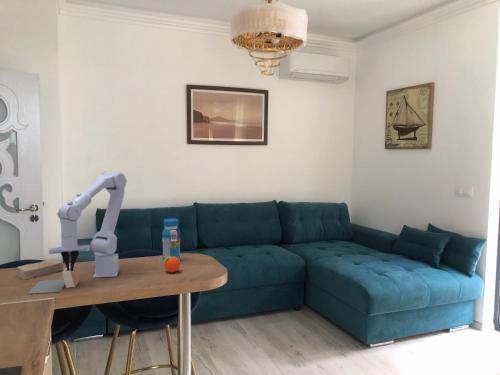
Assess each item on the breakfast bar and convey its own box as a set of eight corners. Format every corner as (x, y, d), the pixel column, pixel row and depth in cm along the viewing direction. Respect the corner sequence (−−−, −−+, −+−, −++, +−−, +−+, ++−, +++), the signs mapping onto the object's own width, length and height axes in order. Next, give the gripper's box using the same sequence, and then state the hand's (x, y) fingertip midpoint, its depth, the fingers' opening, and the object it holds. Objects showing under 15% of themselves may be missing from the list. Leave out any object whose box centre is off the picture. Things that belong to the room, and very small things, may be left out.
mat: (68, 280, 170) (68, 279, 170) (59, 292, 156) (59, 291, 156) (40, 281, 168) (39, 280, 168) (27, 294, 154) (27, 293, 154)
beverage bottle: (159, 262, 197) (159, 220, 195) (166, 258, 206) (165, 217, 204) (176, 263, 196) (176, 221, 194) (182, 258, 204) (182, 218, 202)
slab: (79, 280, 170) (75, 264, 169) (74, 287, 162) (70, 270, 161) (71, 282, 169) (67, 266, 168) (66, 289, 161) (61, 272, 160)
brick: (24, 280, 171) (23, 269, 170) (15, 276, 176) (15, 265, 175) (63, 271, 183) (63, 261, 183) (54, 268, 189) (54, 258, 188)
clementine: (167, 275, 177) (167, 259, 176) (159, 272, 182) (158, 256, 181) (183, 272, 182) (183, 256, 182) (175, 268, 187) (174, 253, 187)
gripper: (87, 232, 169) (87, 266, 170) (47, 235, 161) (47, 270, 162) (90, 235, 163) (90, 270, 164) (49, 238, 155) (50, 274, 156)
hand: (69, 270), depth 163 cm, fingers closed, pressing on slab
